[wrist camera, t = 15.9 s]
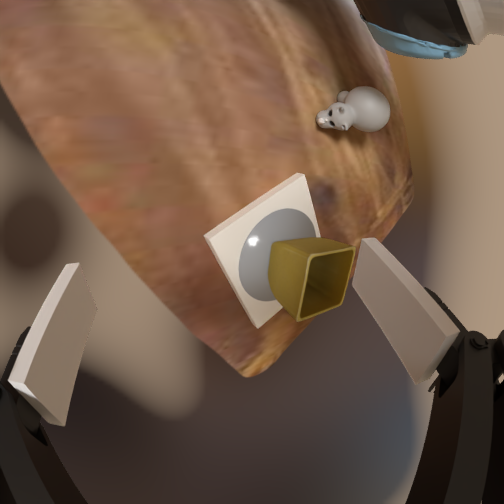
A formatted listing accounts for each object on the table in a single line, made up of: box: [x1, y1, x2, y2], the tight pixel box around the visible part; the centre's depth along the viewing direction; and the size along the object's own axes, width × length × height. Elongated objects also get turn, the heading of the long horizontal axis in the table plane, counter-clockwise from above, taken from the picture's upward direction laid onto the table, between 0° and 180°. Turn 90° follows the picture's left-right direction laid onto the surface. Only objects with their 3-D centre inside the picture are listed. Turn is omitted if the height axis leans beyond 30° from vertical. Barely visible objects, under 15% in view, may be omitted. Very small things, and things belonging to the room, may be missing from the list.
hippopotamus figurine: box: [316, 86, 390, 132], centre depth 36 cm, size 7×12×8 cm, turn 110°
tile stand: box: [204, 173, 321, 328], centre depth 41 cm, size 16×18×2 cm
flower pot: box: [268, 237, 356, 322], centre depth 37 cm, size 9×9×9 cm
